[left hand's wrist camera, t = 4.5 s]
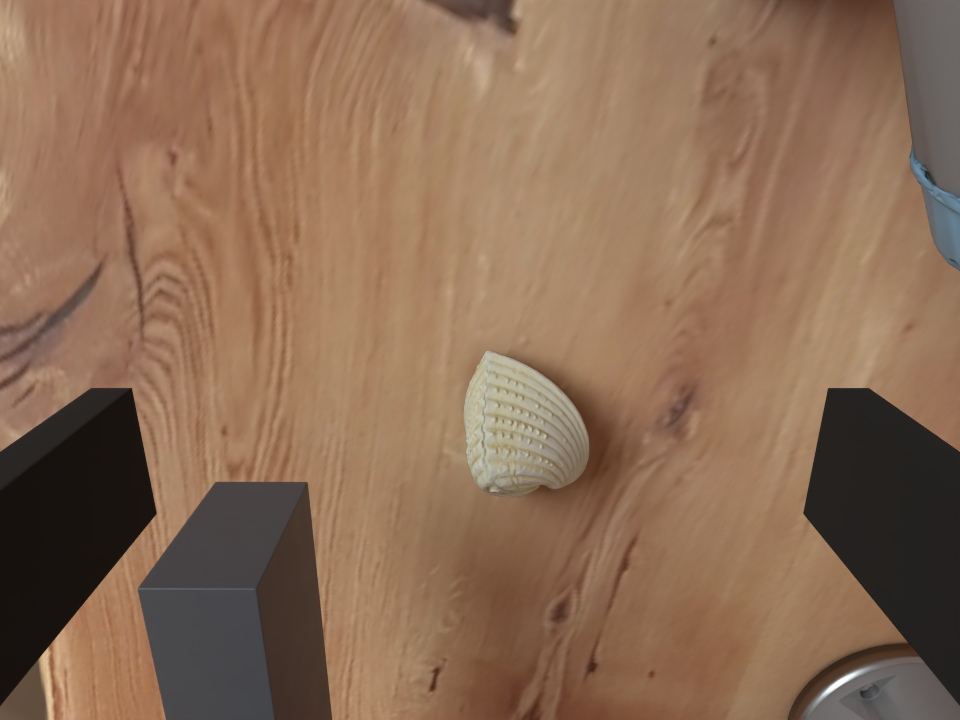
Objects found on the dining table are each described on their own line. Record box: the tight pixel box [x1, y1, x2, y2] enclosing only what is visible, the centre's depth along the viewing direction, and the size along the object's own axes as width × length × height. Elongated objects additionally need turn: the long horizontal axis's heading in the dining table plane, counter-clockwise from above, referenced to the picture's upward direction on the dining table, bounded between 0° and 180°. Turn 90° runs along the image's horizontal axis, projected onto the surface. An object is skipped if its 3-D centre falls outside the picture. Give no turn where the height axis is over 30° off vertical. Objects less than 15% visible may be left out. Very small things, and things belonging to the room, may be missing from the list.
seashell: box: [464, 351, 589, 497], centre depth 41 cm, size 8×8×8 cm
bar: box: [138, 482, 332, 720], centre depth 33 cm, size 22×5×8 cm, turn 0°
